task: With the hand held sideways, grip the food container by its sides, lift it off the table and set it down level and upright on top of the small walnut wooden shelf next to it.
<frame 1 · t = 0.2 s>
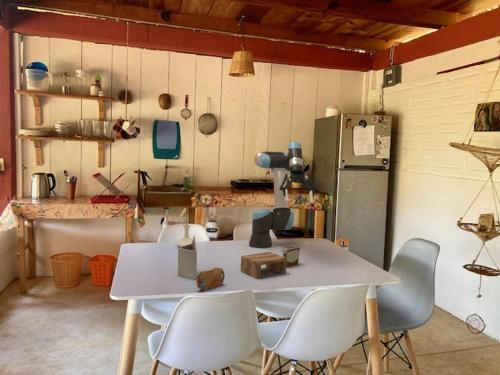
hand: (299, 202, 213), 35 cm above the table, tool tilted 35°, fingers open, 13 cm apart
tin: (210, 288, 178), on the table
planter: (186, 275, 195), on the table
food container: (288, 265, 217), on the table
flower in vase: (186, 247, 251), on the table
walnut shelf: (263, 272, 202), on the table
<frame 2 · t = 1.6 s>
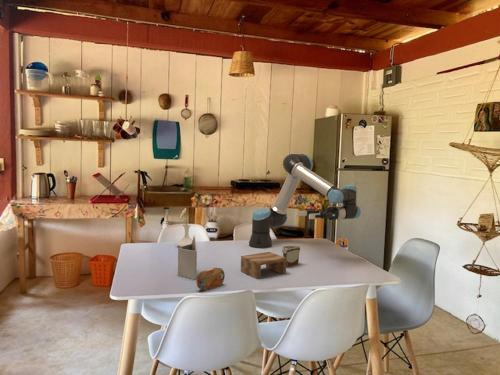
hand: (302, 215, 219), 27 cm above the table, tool horizontal, fingers open, 13 cm apart
nothing on the table moved.
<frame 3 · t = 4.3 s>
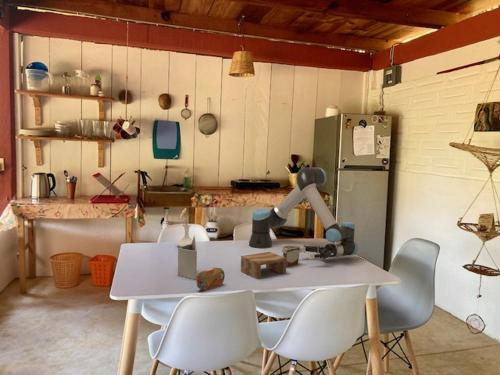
hand: (301, 253, 220), 6 cm above the table, tool horizontal, fingers open, 13 cm apart
nothing on the table moved.
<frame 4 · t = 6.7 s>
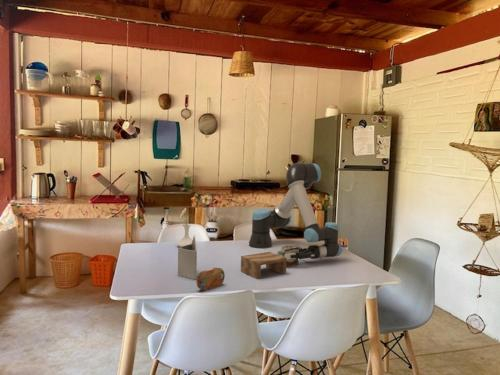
hand: (280, 255, 214), 6 cm above the table, tool horizontal, fingers closed on food container, 7 cm apart
food container: (287, 265, 217), on the table, touching gripper
everything else where it was.
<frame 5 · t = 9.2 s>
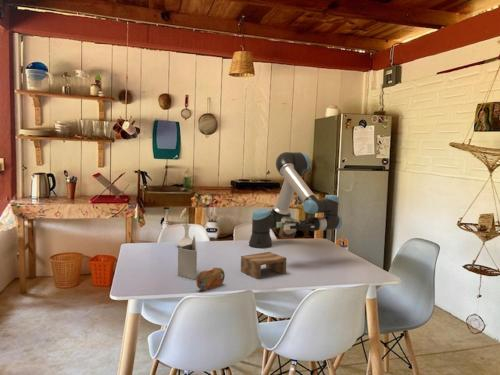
hand: (280, 226, 211), 22 cm above the table, tool horizontal, fingers closed on food container, 7 cm apart
food container: (283, 236, 215), point 16 cm above the table, touching gripper
everything else where it was.
when the fingers open (15 cm above the table, at t = 11.8 s): food container drops 1 cm, resting on walnut shelf.
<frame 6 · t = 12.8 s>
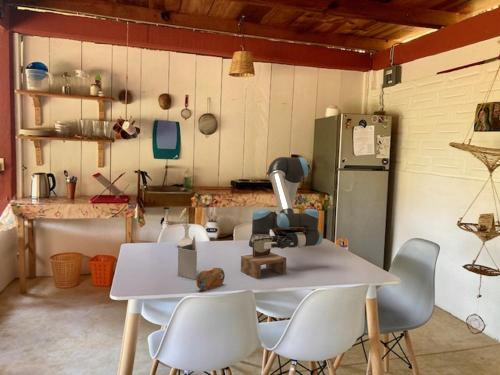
hand: (258, 242, 199), 16 cm above the table, tool horizontal, fingers open, 13 cm apart
food container: (258, 255, 205), point 8 cm above the table, touching gripper, walnut shelf
everything else where it was.
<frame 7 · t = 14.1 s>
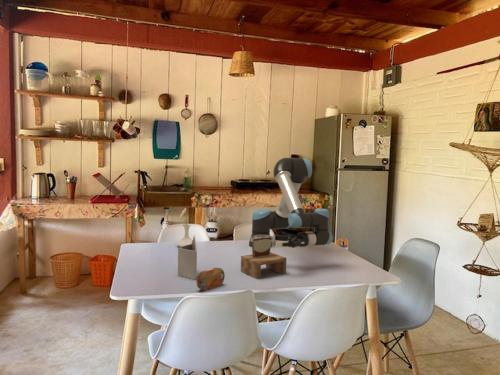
hand: (269, 241, 202), 16 cm above the table, tool horizontal, fingers open, 13 cm apart
food container: (258, 255, 205), point 8 cm above the table, touching walnut shelf
everything else where it was.
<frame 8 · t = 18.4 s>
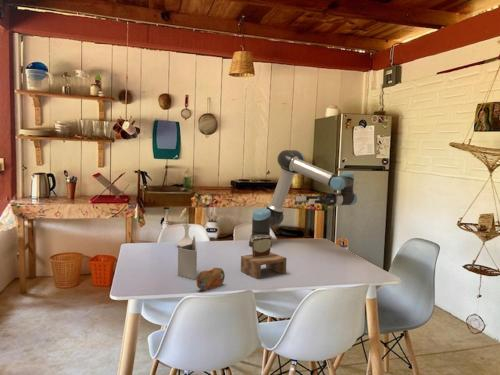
hand: (302, 200, 228), 34 cm above the table, tool horizontal, fingers open, 13 cm apart
nothing on the table moved.
at the end: food container inside the target area on the walnut shelf (4.1 cm from its centre), point 7.8 cm above the walnut shelf's base; food container tilted 0°; the gripper is holding nothing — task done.
